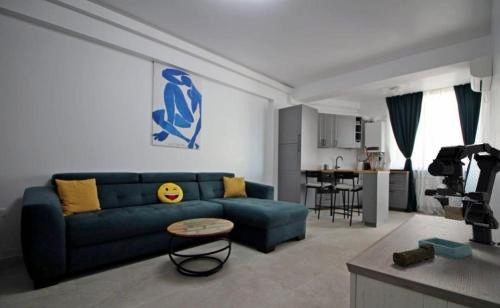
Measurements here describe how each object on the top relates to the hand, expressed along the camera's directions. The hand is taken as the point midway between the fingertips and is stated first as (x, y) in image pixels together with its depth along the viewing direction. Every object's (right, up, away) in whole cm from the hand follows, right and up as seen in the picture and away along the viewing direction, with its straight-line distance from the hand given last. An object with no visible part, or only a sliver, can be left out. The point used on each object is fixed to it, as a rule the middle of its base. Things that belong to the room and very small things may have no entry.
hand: (455, 216), depth 89 cm
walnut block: (0, -1, 0) cm, 1 cm away
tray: (-12, -10, -8) cm, 18 cm away
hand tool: (-28, -10, -17) cm, 35 cm away
